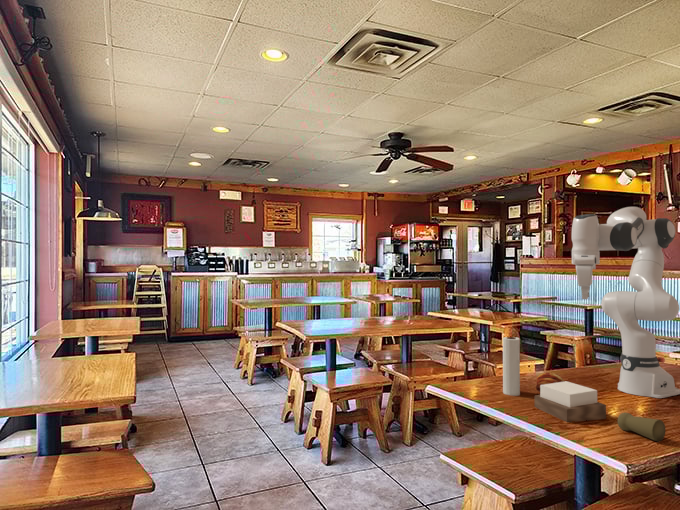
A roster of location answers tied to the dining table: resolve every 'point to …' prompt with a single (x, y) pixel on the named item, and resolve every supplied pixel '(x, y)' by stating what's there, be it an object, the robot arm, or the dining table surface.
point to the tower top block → (568, 394)
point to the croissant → (547, 379)
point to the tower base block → (571, 410)
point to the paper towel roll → (511, 366)
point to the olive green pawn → (642, 426)
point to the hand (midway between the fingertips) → (585, 298)
